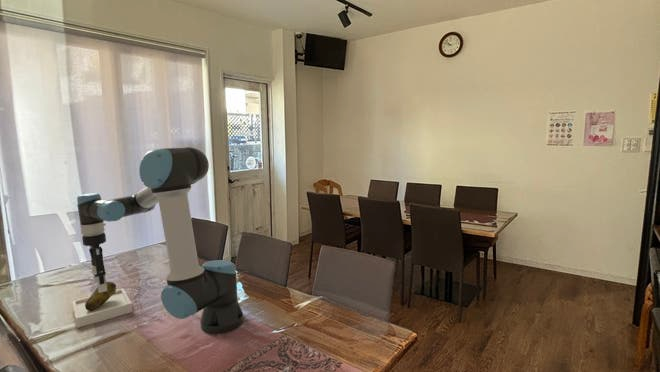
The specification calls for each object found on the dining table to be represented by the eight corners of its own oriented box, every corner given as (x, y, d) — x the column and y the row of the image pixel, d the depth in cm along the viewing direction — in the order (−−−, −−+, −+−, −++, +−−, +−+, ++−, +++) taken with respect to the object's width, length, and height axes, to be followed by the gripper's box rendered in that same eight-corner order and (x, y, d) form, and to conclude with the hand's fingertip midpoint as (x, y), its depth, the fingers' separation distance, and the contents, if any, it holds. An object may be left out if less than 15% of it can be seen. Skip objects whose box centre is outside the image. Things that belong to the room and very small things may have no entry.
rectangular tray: (132, 312, 141) (131, 303, 141) (77, 327, 130) (75, 318, 130) (124, 296, 155) (123, 288, 155) (73, 309, 144) (72, 300, 144)
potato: (77, 309, 139) (75, 290, 138) (111, 296, 150) (109, 278, 149) (90, 314, 135) (87, 294, 134) (123, 300, 146) (121, 281, 145)
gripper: (109, 237, 131) (116, 293, 134) (100, 226, 150) (107, 274, 153) (85, 242, 126) (92, 299, 129) (79, 229, 146) (85, 279, 148)
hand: (100, 286), depth 141 cm, fingers open, 13 cm apart
